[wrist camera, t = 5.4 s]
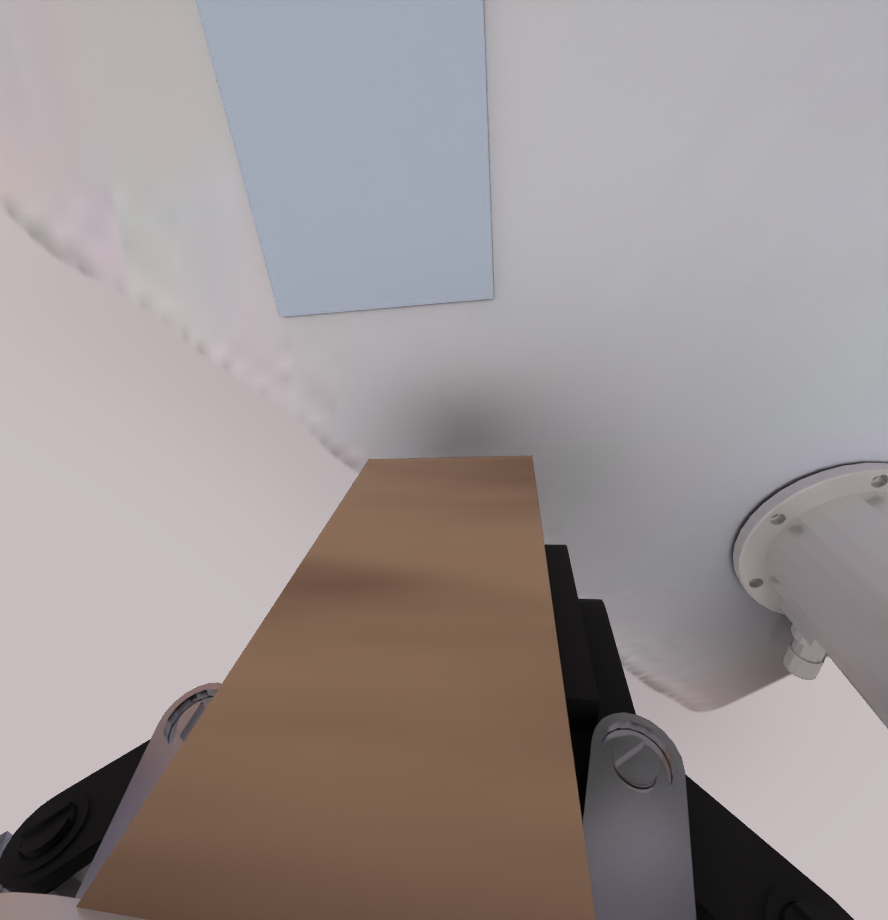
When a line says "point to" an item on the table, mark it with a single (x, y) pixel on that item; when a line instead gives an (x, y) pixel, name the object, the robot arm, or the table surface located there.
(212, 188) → the table surface
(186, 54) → the table surface
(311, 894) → the brown tall block
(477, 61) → the rubber mat
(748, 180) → the table surface
